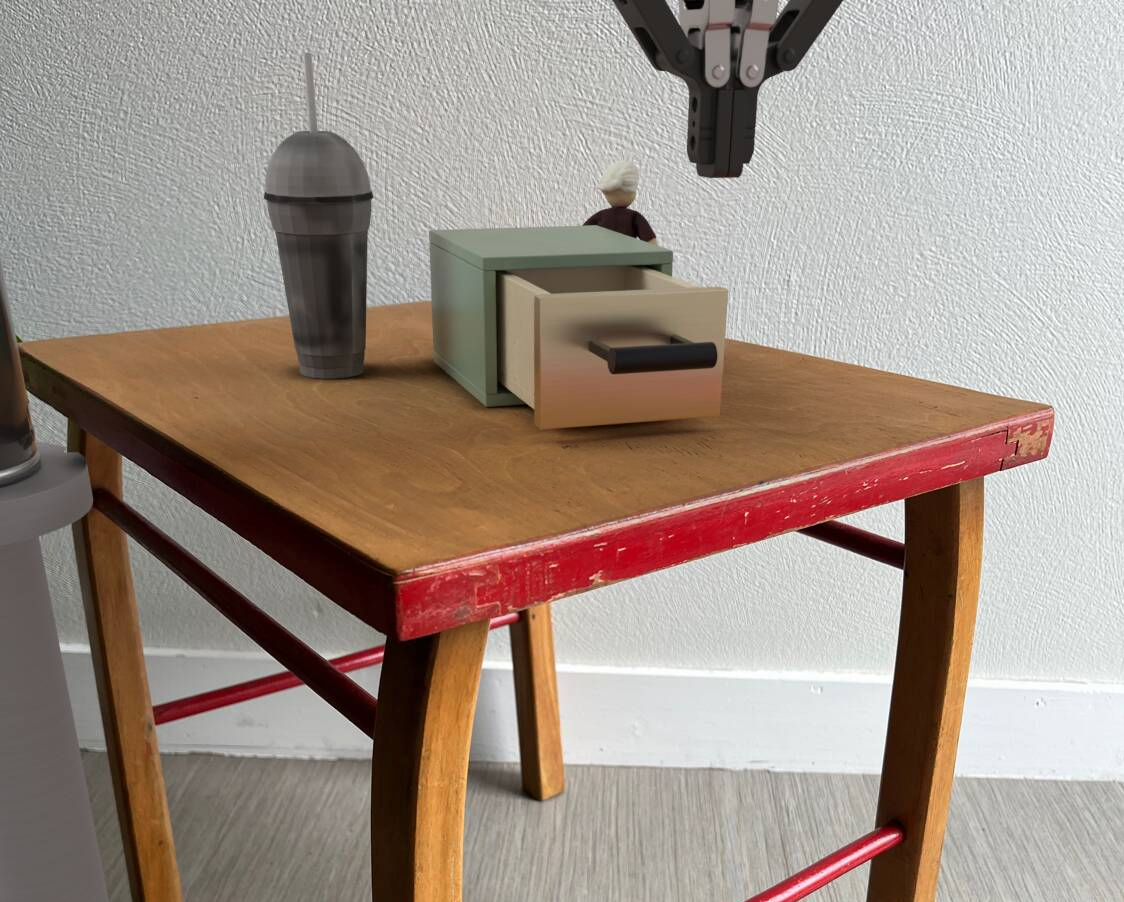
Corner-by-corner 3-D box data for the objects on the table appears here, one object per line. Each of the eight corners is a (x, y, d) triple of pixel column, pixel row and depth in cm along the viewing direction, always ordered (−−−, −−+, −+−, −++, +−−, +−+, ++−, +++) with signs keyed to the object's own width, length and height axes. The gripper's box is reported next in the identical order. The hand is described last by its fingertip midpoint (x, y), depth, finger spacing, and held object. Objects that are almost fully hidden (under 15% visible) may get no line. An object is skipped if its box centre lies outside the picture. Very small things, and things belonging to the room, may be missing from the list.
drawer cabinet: (667, 394, 86) (673, 250, 82) (485, 407, 83) (482, 257, 78) (594, 352, 98) (596, 225, 94) (433, 362, 95) (428, 230, 91)
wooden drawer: (756, 436, 73) (766, 303, 70) (566, 451, 70) (568, 312, 67) (639, 370, 89) (643, 258, 85) (479, 380, 86) (476, 264, 82)
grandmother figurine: (664, 322, 110) (671, 159, 104) (656, 330, 107) (663, 163, 101) (576, 318, 111) (578, 157, 105) (566, 326, 108) (567, 160, 102)
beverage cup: (281, 384, 88) (249, 52, 78) (279, 363, 94) (249, 52, 85) (388, 380, 89) (369, 53, 80) (379, 359, 96) (361, 53, 86)
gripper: (842, -254, 58) (805, 168, 66) (562, -277, 54) (561, 173, 62) (935, -292, 52) (882, 180, 60) (626, -321, 48) (615, 186, 56)
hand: (718, 176), depth 61 cm, fingers closed
